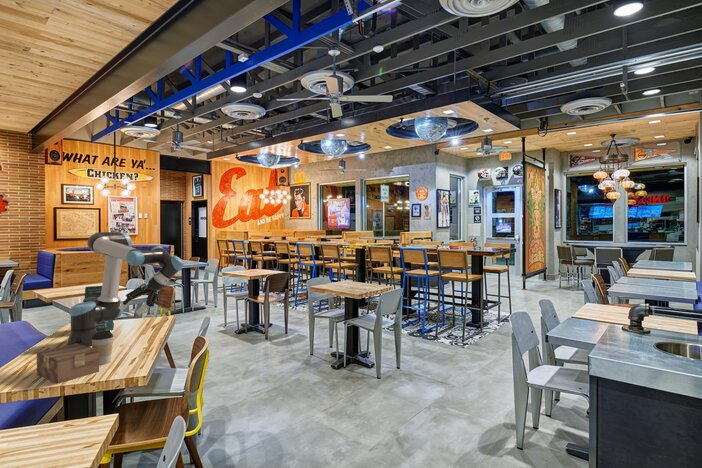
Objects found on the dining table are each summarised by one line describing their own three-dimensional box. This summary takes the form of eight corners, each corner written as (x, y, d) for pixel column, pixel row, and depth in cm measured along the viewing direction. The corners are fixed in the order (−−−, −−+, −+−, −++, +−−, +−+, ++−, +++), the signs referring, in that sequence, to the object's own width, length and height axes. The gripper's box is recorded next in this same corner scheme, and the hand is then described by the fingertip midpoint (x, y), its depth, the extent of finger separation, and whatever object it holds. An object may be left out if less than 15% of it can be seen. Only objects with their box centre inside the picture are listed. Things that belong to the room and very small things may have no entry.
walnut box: (35, 375, 169) (35, 352, 169) (77, 363, 183) (77, 343, 183) (57, 384, 159) (57, 360, 158) (99, 371, 173) (99, 349, 173)
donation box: (113, 326, 257) (113, 285, 257) (113, 331, 243) (112, 288, 243) (85, 329, 249) (84, 286, 249) (82, 334, 235) (82, 289, 235)
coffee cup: (96, 367, 178) (96, 335, 178) (87, 363, 183) (87, 333, 183) (117, 361, 186) (116, 331, 186) (107, 358, 191) (107, 328, 191)
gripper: (148, 279, 190) (116, 312, 186) (176, 290, 213) (148, 319, 209) (139, 270, 192) (107, 302, 188) (168, 282, 216) (140, 310, 212)
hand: (129, 311), depth 199 cm, fingers open, 13 cm apart
